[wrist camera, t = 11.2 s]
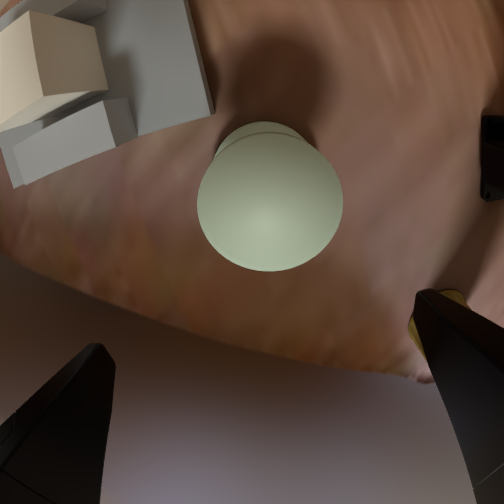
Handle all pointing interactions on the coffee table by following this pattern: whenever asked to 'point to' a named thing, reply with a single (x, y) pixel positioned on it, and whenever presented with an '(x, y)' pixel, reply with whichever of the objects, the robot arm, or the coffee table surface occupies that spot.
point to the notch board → (115, 83)
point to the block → (46, 68)
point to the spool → (269, 198)
